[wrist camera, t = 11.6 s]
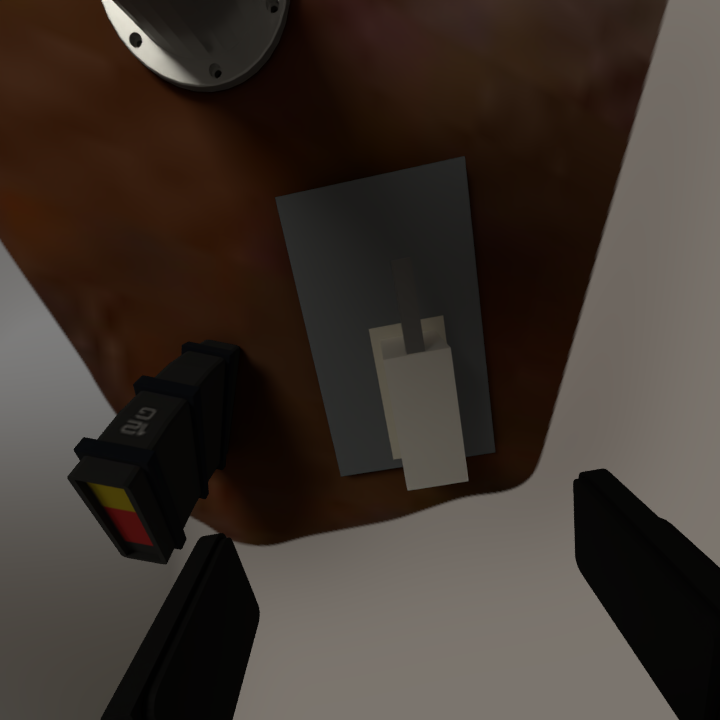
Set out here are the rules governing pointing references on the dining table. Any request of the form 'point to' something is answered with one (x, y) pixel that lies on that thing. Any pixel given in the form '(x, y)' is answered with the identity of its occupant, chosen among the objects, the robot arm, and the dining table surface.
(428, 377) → the plug
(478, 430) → the board
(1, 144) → the dining table surface
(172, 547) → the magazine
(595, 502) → the robot arm
